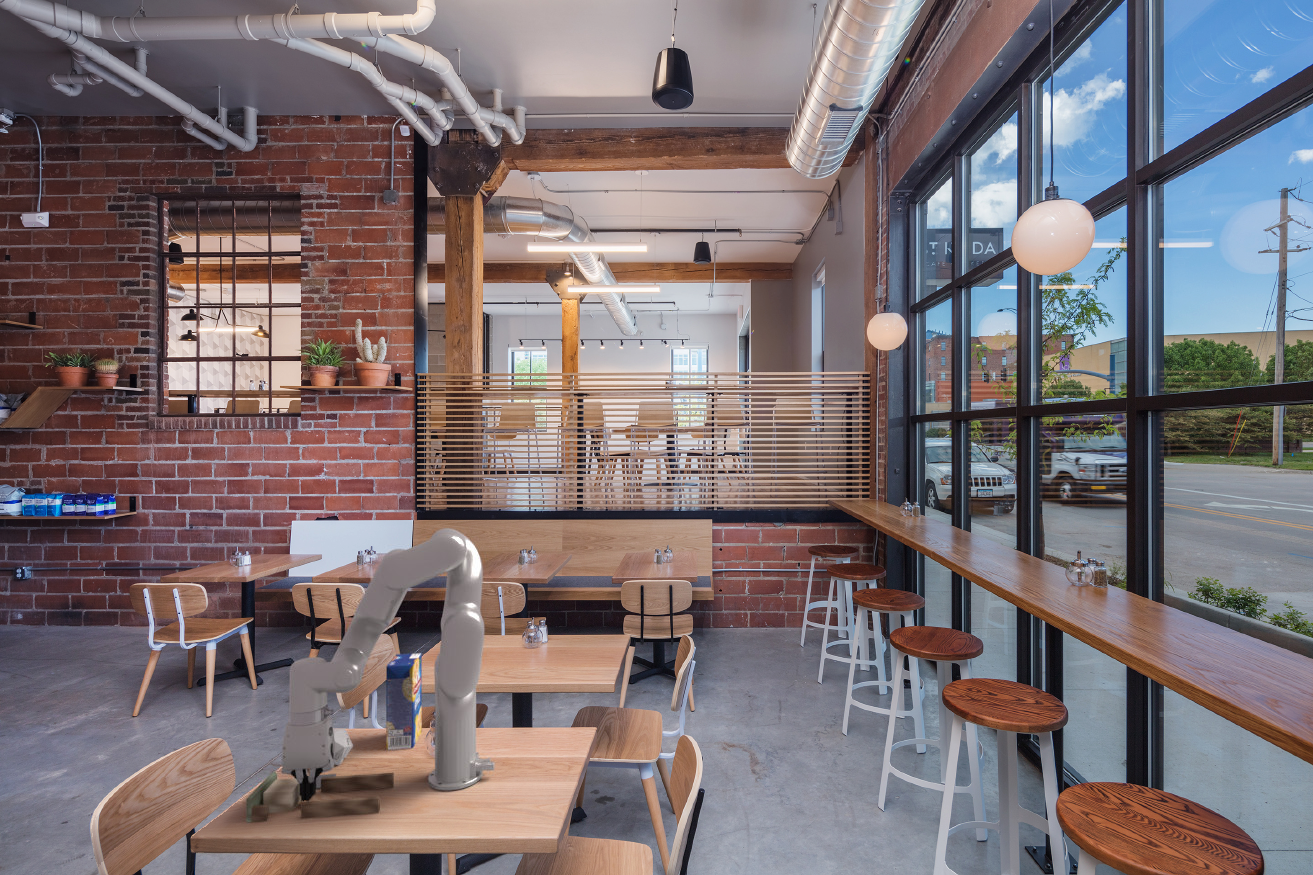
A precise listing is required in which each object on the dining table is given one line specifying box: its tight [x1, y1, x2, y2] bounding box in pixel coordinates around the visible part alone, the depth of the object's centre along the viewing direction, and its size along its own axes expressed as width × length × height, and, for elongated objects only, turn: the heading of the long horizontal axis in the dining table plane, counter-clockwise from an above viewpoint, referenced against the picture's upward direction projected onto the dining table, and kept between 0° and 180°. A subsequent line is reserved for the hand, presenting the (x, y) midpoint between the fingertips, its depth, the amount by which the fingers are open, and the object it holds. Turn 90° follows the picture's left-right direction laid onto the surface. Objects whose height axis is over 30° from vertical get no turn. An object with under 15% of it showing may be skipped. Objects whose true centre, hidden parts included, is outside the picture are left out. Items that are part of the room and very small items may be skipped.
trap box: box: [245, 771, 395, 823], centre depth 147 cm, size 27×12×5 cm, turn 97°
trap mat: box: [308, 773, 337, 790], centre depth 156 cm, size 8×7×1 cm
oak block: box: [263, 777, 302, 814], centre depth 146 cm, size 6×6×4 cm
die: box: [332, 728, 354, 766], centre depth 167 cm, size 8×9×10 cm
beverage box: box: [385, 652, 423, 751], centre depth 180 cm, size 7×11×22 cm, turn 8°
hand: (307, 797), depth 146 cm, fingers closed
